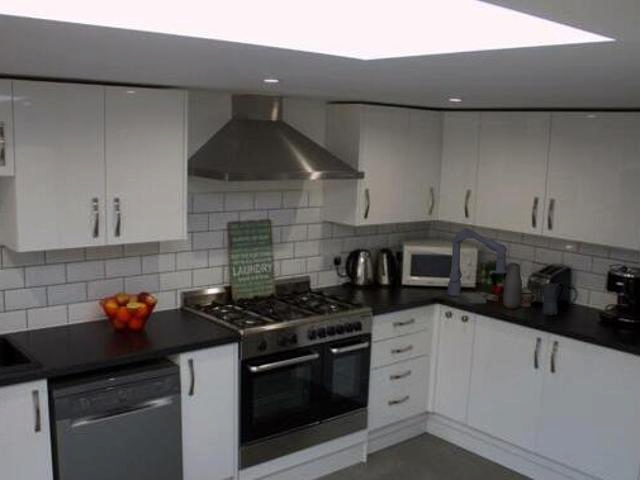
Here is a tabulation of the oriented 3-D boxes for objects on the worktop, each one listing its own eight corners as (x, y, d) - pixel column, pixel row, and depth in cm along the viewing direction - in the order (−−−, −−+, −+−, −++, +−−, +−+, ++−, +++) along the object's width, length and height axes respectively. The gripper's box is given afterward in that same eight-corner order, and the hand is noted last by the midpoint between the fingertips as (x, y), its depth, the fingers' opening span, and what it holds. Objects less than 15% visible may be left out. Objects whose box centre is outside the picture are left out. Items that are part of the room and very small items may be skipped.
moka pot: (534, 312, 396) (536, 279, 394) (555, 310, 402) (557, 278, 399) (544, 316, 388) (547, 282, 385) (566, 314, 393) (568, 281, 390)
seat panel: (461, 296, 433) (461, 292, 433) (475, 296, 434) (476, 292, 434) (470, 303, 415) (470, 299, 415) (486, 303, 417) (486, 299, 416)
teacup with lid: (518, 307, 409) (520, 288, 407) (514, 303, 418) (515, 285, 416) (538, 307, 409) (539, 288, 408) (533, 303, 418) (534, 285, 417)
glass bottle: (512, 306, 411) (515, 261, 407) (523, 310, 401) (526, 264, 397) (499, 307, 407) (502, 261, 403) (509, 311, 398) (512, 264, 394)
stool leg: (475, 296, 434) (475, 291, 434) (478, 295, 436) (479, 291, 436) (495, 301, 422) (495, 296, 422) (498, 300, 424) (498, 295, 424)
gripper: (493, 265, 419) (492, 286, 420) (514, 264, 422) (513, 285, 423) (488, 263, 425) (487, 284, 427) (508, 263, 429) (508, 283, 430)
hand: (499, 285), depth 426 cm, fingers open, 7 cm apart
